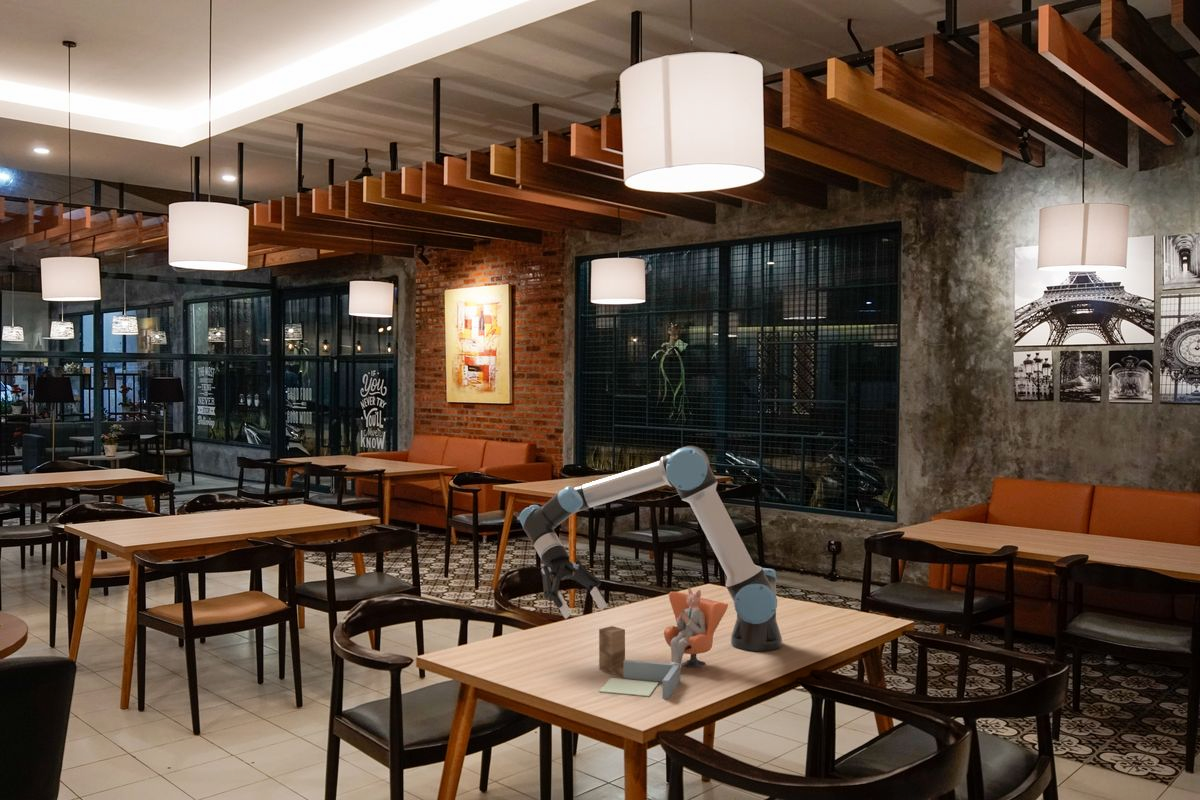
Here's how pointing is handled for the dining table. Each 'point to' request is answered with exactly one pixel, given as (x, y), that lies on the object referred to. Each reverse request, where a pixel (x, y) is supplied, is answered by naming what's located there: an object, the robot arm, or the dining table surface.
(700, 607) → the figure
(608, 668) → the brown boxy piece
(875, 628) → the dining table surface
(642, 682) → the pad
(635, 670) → the corner wall
